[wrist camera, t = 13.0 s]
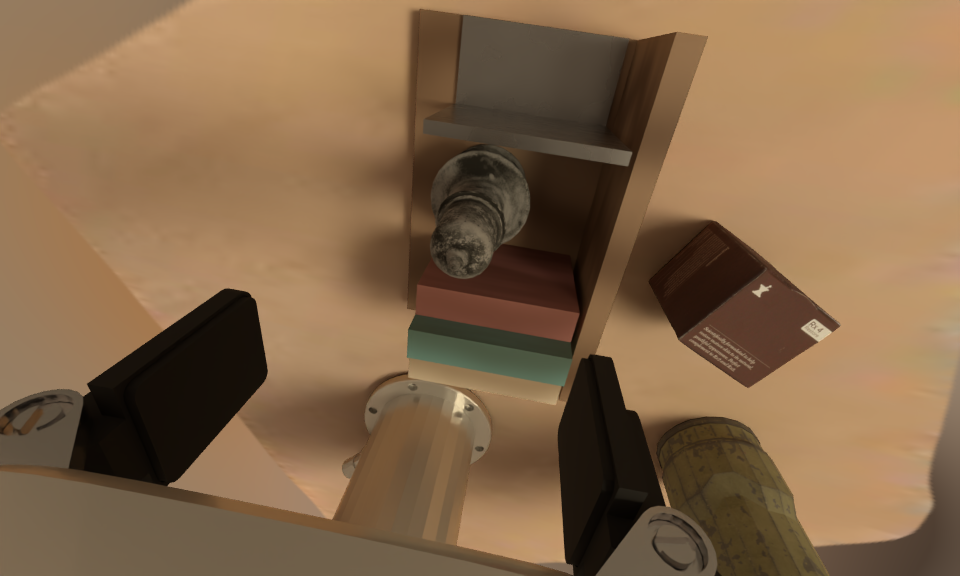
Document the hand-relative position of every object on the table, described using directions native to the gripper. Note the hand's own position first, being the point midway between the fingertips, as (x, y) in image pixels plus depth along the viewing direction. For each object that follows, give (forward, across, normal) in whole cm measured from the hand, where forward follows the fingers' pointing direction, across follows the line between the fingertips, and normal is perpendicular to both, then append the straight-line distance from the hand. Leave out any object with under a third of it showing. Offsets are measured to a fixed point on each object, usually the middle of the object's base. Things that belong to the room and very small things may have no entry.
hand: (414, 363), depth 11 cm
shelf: (+19, -2, 0) cm, 19 cm away
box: (+19, -17, +3) cm, 25 cm away
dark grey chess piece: (+18, 0, -1) cm, 18 cm away
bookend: (+17, -2, -7) cm, 19 cm away
